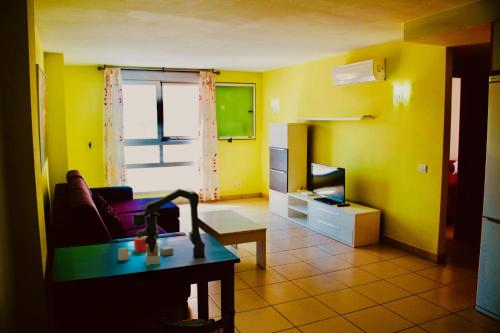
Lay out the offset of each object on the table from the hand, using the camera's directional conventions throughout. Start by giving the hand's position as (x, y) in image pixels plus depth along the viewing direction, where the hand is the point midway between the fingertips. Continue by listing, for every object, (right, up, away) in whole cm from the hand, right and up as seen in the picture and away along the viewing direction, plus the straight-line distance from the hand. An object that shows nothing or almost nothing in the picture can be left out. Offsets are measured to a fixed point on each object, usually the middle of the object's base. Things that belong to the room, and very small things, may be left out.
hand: (152, 250), depth 226 cm
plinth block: (0, -7, +1) cm, 7 cm away
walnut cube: (0, -2, 0) cm, 2 cm away
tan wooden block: (+5, -6, +16) cm, 17 cm away
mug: (-12, -5, +24) cm, 27 cm away
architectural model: (-19, -7, +6) cm, 21 cm away
